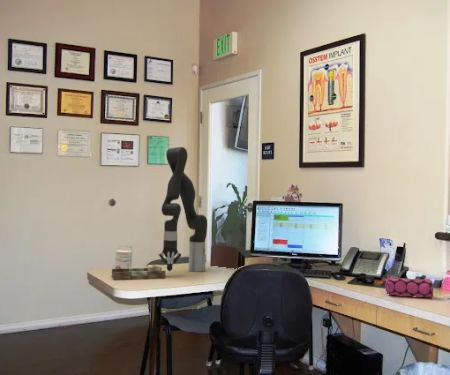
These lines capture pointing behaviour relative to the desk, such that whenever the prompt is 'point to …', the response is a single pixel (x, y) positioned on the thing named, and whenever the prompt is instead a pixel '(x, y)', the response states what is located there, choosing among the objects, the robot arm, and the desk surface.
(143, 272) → the tunnel deck
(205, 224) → the robot arm
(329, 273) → the desk surface
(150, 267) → the maple block
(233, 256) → the letter holder
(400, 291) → the pencil case
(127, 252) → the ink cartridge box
